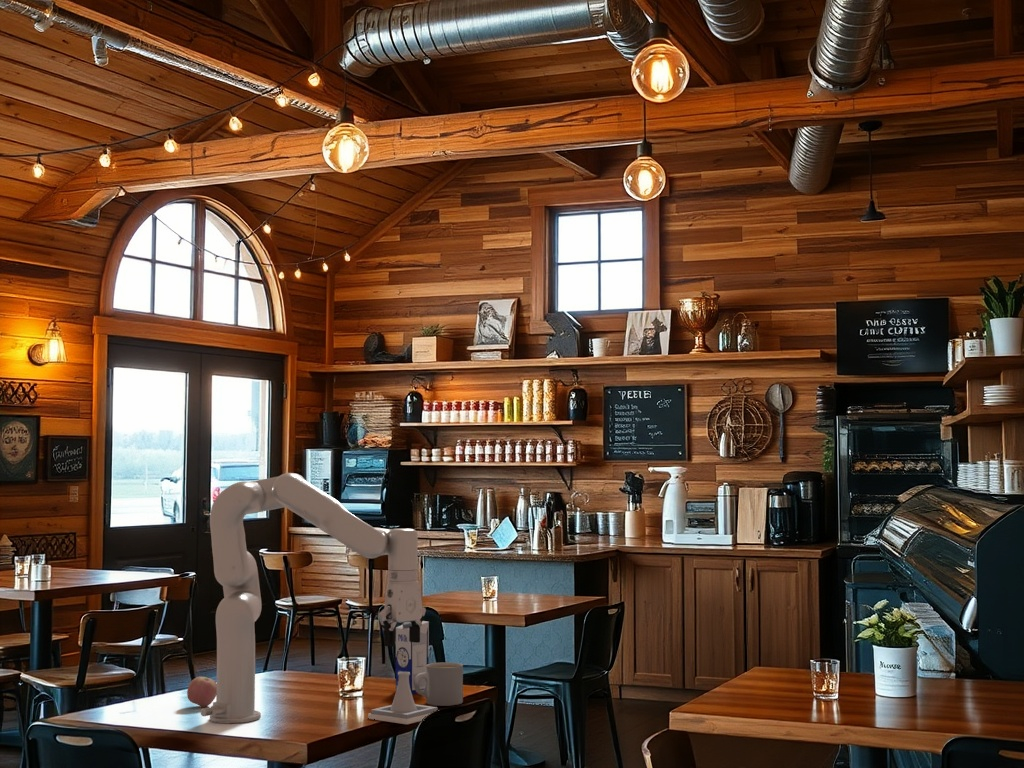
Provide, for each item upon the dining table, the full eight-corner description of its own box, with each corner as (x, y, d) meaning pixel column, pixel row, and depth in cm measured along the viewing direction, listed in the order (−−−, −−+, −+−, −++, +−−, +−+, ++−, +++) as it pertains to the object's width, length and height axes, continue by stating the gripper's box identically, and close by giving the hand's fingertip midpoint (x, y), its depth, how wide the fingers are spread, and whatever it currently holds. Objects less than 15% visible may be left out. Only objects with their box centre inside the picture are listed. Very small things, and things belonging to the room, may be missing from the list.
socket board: (407, 724, 296) (407, 715, 296) (368, 718, 304) (368, 709, 304) (440, 716, 307) (440, 707, 307) (401, 710, 314) (401, 702, 314)
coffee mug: (460, 698, 331) (460, 661, 332) (464, 705, 322) (464, 667, 323) (412, 700, 329) (412, 663, 330) (415, 706, 320) (415, 668, 320)
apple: (200, 711, 315) (201, 680, 316) (180, 708, 319) (181, 677, 320) (223, 706, 322) (223, 675, 322) (203, 703, 326) (203, 673, 326)
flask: (420, 710, 308) (420, 670, 309) (414, 715, 301) (415, 675, 302) (392, 709, 309) (392, 670, 310) (386, 715, 302) (386, 674, 303)
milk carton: (429, 691, 342) (429, 620, 344) (410, 694, 338) (410, 622, 339) (413, 688, 348) (414, 618, 349) (395, 691, 343) (395, 620, 345)
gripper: (391, 579, 299) (390, 649, 298) (435, 575, 313) (435, 641, 312) (369, 578, 303) (368, 646, 302) (413, 574, 317) (413, 639, 316)
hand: (402, 644), depth 307 cm, fingers open, 9 cm apart
